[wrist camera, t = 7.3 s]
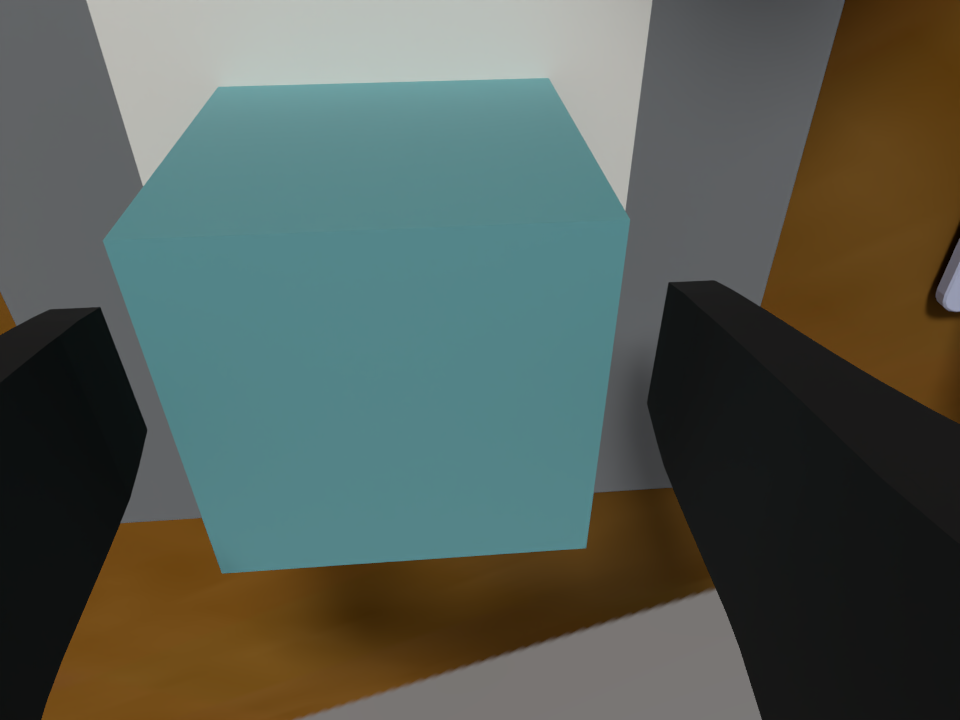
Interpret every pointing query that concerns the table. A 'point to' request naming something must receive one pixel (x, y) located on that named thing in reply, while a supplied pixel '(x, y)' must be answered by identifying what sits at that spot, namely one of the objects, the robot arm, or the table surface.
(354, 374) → the teal cube
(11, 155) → the white-inset grey tile
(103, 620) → the table surface
